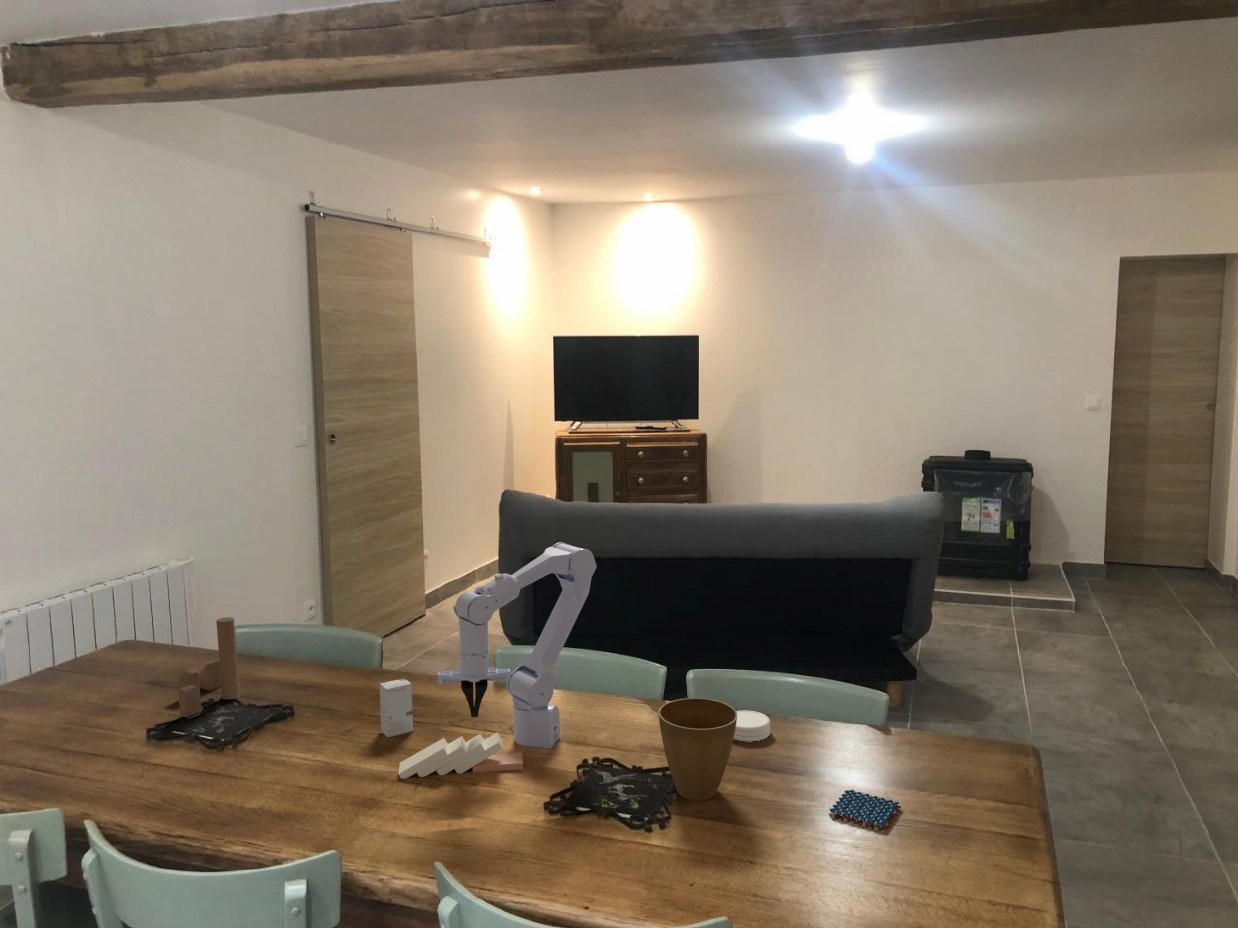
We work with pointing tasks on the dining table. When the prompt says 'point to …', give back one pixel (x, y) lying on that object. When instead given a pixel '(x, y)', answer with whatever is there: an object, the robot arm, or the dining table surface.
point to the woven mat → (865, 810)
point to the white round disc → (751, 726)
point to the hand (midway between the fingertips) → (474, 715)
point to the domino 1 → (423, 758)
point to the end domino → (500, 762)
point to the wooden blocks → (212, 672)
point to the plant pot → (697, 744)
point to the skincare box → (396, 707)
